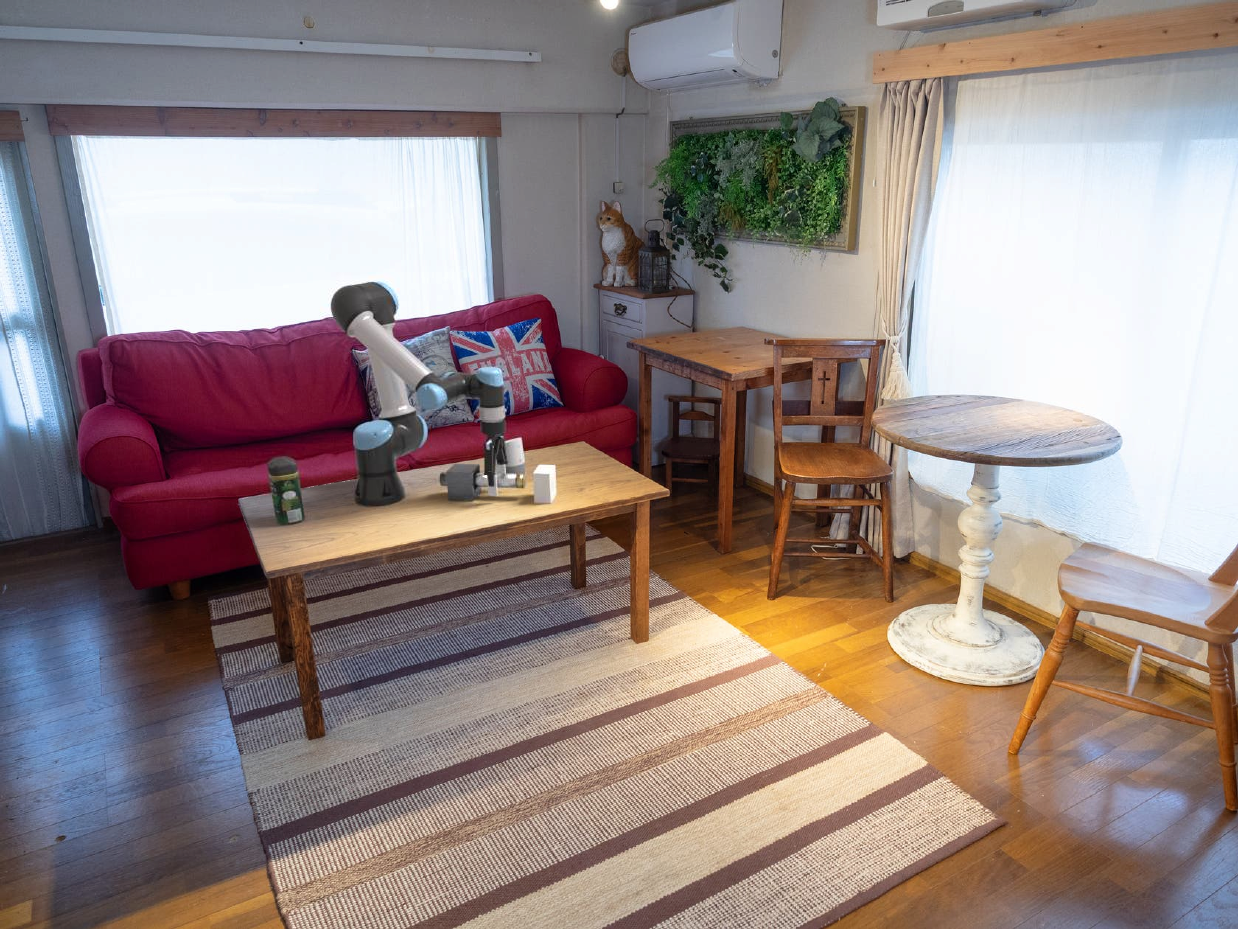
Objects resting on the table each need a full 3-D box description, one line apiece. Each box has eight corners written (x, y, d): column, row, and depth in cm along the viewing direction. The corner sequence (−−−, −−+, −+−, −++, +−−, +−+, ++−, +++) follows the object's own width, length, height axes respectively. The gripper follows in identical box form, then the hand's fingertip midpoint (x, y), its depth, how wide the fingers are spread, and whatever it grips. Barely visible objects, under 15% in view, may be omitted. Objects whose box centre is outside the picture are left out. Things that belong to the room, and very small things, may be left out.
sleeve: (448, 500, 262) (445, 471, 259) (457, 491, 270) (454, 463, 267) (473, 501, 261) (471, 472, 258) (481, 492, 269) (479, 464, 266)
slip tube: (440, 488, 263) (438, 474, 262) (445, 483, 268) (443, 469, 266) (522, 490, 260) (521, 476, 258) (526, 485, 264) (525, 471, 263)
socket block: (534, 503, 258) (532, 473, 256) (540, 494, 266) (539, 464, 263) (550, 503, 258) (549, 473, 255) (556, 494, 265) (555, 465, 263)
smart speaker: (510, 472, 287) (508, 432, 283) (531, 477, 282) (529, 436, 278) (491, 480, 280) (488, 439, 276) (512, 485, 275) (509, 443, 271)
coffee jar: (273, 517, 252) (264, 456, 246) (301, 512, 255) (293, 452, 250) (278, 527, 243) (268, 465, 238) (307, 522, 247) (298, 460, 241)
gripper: (494, 429, 246) (499, 502, 252) (514, 410, 266) (518, 479, 273) (469, 428, 247) (475, 502, 254) (491, 410, 268) (495, 478, 274)
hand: (497, 490), depth 263 cm, fingers open, 9 cm apart
